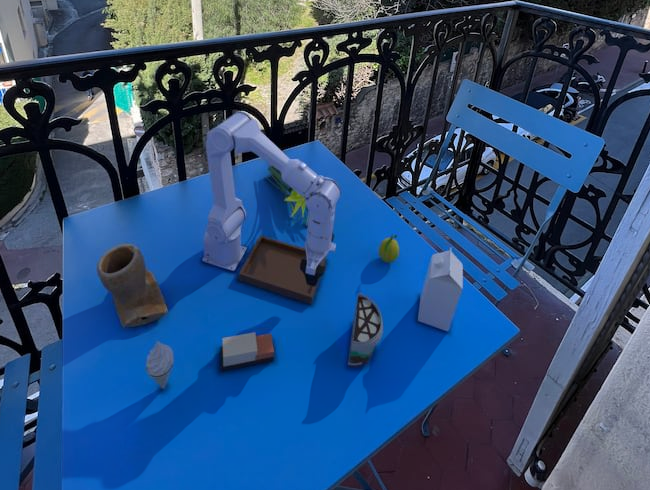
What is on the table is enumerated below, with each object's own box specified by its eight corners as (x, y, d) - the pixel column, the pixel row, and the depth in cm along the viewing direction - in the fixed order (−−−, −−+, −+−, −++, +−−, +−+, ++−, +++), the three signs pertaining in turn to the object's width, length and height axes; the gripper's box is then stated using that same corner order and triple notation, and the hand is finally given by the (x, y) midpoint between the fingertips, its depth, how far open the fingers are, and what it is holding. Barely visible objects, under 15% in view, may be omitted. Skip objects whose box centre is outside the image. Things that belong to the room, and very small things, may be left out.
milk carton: (449, 306, 101) (466, 251, 93) (448, 332, 95) (467, 276, 87) (420, 296, 103) (435, 242, 95) (417, 321, 97) (433, 265, 89)
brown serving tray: (238, 280, 103) (238, 273, 102) (259, 241, 115) (260, 235, 114) (311, 304, 99) (312, 297, 98) (325, 261, 111) (326, 254, 110)
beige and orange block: (221, 371, 84) (220, 358, 82) (220, 350, 88) (219, 337, 86) (273, 361, 86) (274, 348, 84) (270, 340, 90) (271, 328, 88)
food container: (376, 381, 84) (383, 352, 80) (347, 373, 85) (352, 344, 81) (379, 325, 95) (385, 297, 91) (353, 319, 96) (358, 290, 92)
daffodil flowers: (301, 169, 148) (354, 210, 118) (271, 198, 144) (319, 248, 114) (275, 137, 141) (326, 172, 111) (243, 167, 137) (287, 211, 107)
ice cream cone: (161, 408, 77) (154, 360, 71) (144, 391, 79) (136, 343, 73) (182, 384, 81) (177, 337, 75) (165, 368, 83) (159, 321, 77)
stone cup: (101, 290, 98) (91, 246, 92) (152, 269, 104) (146, 226, 98) (113, 345, 87) (103, 298, 80) (169, 317, 93) (164, 272, 87)
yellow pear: (381, 272, 109) (386, 245, 105) (371, 254, 114) (376, 228, 110) (402, 266, 111) (409, 240, 107) (392, 250, 116) (398, 224, 112)
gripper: (330, 258, 83) (324, 302, 89) (343, 210, 96) (337, 251, 102) (298, 249, 85) (294, 293, 91) (314, 203, 98) (310, 244, 103)
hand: (315, 270), depth 96 cm, fingers open, 7 cm apart
